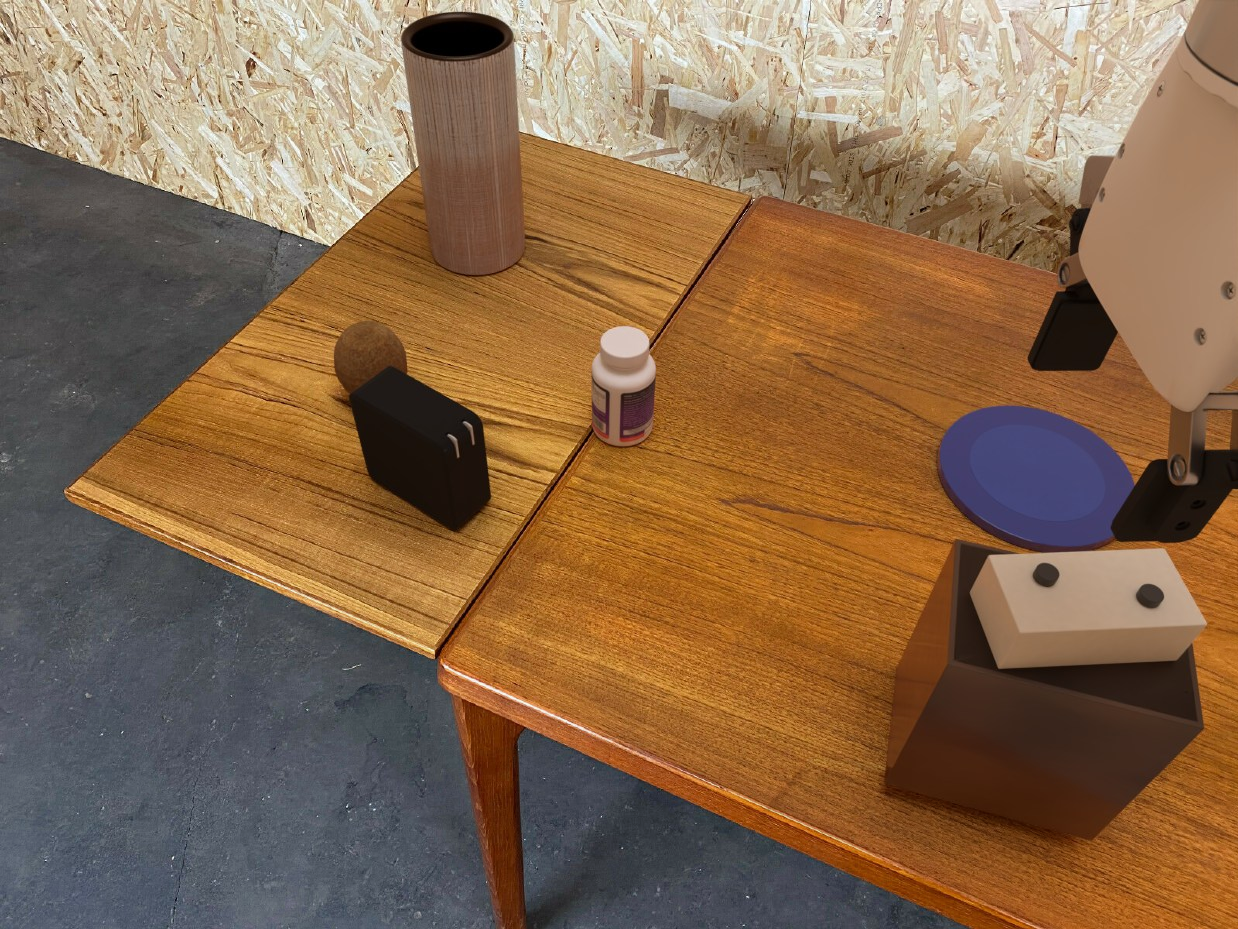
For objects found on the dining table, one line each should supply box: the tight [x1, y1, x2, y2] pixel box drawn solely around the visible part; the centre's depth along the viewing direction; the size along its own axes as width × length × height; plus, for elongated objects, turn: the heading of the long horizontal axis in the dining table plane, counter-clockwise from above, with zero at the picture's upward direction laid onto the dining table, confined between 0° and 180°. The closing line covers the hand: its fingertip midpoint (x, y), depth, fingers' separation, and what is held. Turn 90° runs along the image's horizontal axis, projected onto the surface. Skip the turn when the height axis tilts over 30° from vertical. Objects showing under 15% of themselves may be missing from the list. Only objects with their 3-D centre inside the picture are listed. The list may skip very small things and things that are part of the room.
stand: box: [883, 538, 1205, 842], centre depth 59 cm, size 13×9×15 cm
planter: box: [400, 11, 526, 276], centre depth 93 cm, size 10×10×23 cm
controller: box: [970, 547, 1208, 669], centre depth 52 cm, size 10×5×4 cm, turn 94°
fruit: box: [333, 320, 408, 395], centre depth 83 cm, size 6×6×8 cm
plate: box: [936, 404, 1136, 553], centre depth 81 cm, size 16×16×1 cm
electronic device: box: [348, 366, 492, 532], centre depth 75 cm, size 4×10×10 cm, turn 54°
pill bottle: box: [590, 325, 657, 447], centre depth 81 cm, size 5×5×10 cm
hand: (1102, 444), depth 40 cm, fingers open, 9 cm apart
